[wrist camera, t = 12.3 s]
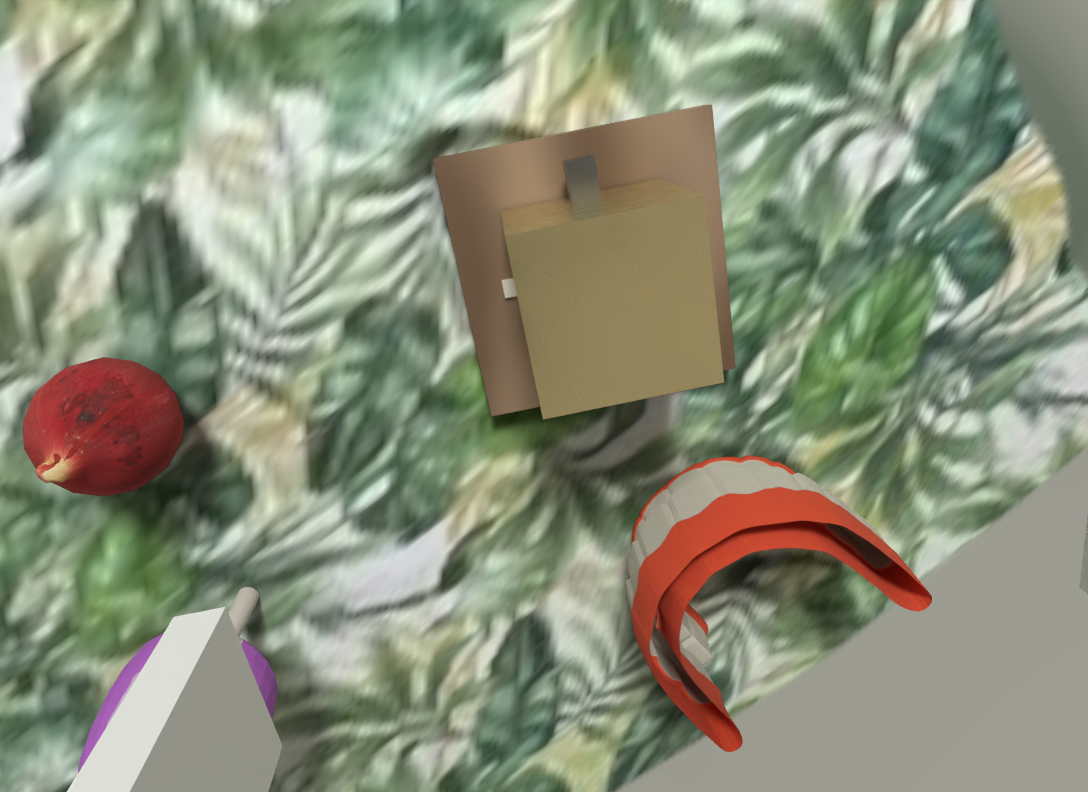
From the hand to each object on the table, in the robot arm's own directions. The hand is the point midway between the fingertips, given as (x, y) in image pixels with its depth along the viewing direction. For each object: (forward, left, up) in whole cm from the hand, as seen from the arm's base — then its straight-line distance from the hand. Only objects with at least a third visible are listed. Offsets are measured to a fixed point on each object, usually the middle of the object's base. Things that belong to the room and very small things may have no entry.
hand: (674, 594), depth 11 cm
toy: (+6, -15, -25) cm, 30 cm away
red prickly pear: (-20, -2, -25) cm, 32 cm away
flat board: (+2, 0, -25) cm, 25 cm away
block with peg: (+2, 0, -23) cm, 23 cm away
